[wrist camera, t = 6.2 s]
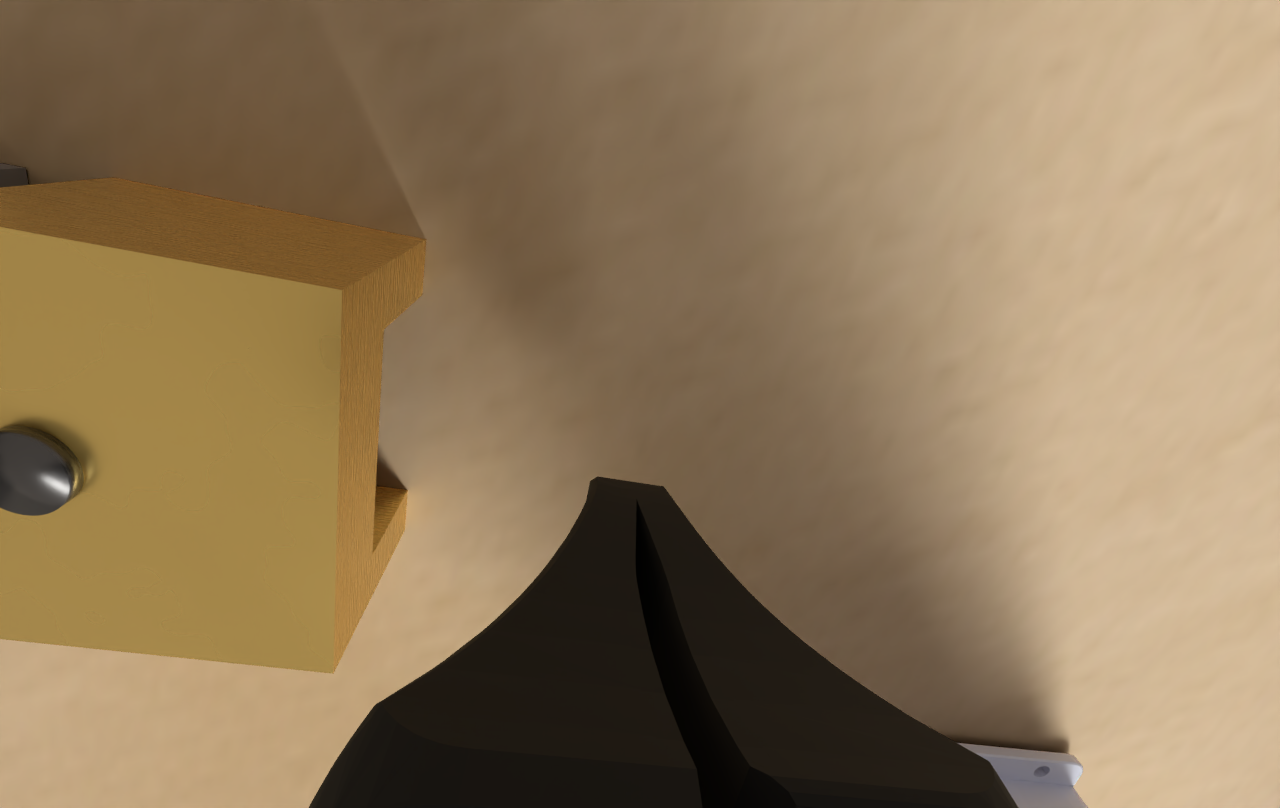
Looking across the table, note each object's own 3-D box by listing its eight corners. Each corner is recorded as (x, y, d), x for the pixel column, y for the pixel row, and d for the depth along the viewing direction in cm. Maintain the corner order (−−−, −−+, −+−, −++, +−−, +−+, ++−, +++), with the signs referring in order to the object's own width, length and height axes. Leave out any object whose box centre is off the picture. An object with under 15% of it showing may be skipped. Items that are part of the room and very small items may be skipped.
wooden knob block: (426, 239, 13) (333, 295, 8) (405, 529, 16) (326, 686, 11) (114, 177, 12) (-172, 203, 8) (151, 495, 15) (-43, 649, 10)
